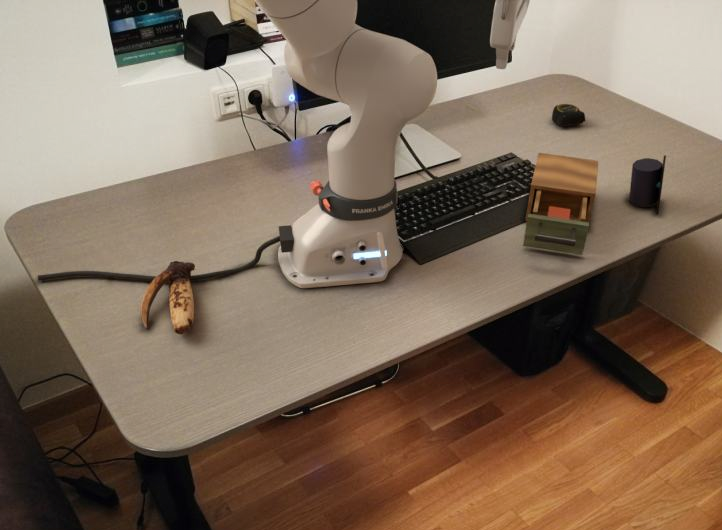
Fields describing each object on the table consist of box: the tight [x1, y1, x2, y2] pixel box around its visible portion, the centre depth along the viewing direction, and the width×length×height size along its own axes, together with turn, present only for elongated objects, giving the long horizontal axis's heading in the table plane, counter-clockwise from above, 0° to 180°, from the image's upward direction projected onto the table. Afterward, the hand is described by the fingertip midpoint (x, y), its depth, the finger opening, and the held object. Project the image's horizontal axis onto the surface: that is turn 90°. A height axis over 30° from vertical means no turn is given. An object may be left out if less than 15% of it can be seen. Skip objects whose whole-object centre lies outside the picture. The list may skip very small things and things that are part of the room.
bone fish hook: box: [140, 260, 196, 335], centre depth 111 cm, size 9×5×18 cm
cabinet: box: [524, 152, 599, 224], centre depth 136 cm, size 14×12×8 cm
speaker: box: [628, 154, 667, 215], centre depth 138 cm, size 8×6×10 cm
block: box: [547, 206, 571, 220], centre depth 127 cm, size 4×4×4 cm
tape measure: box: [551, 103, 586, 127], centre depth 168 cm, size 7×7×4 cm
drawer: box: [522, 189, 590, 256], centre depth 127 cm, size 18×11×6 cm, turn 167°
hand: (505, 58), depth 122 cm, fingers open, 8 cm apart
